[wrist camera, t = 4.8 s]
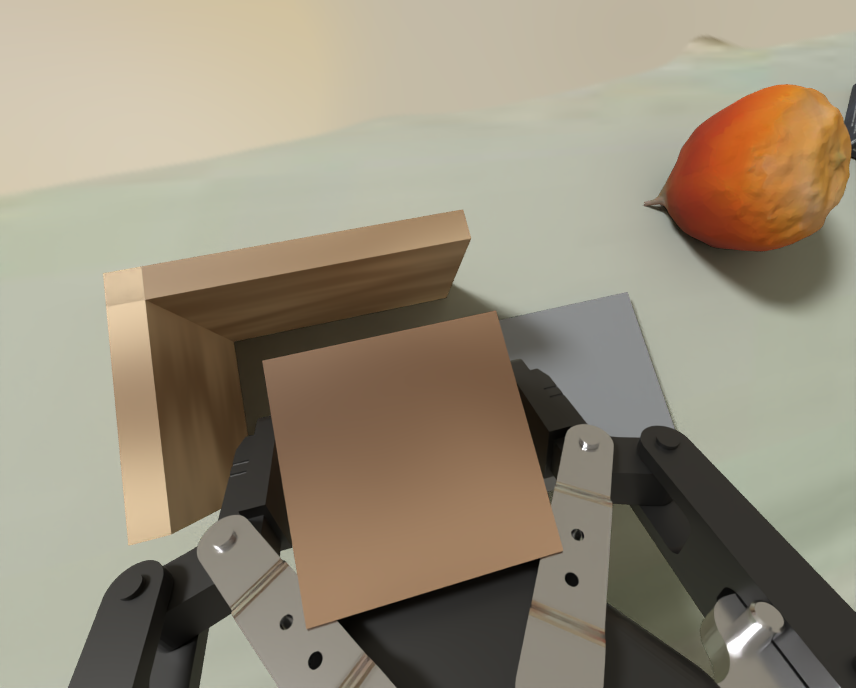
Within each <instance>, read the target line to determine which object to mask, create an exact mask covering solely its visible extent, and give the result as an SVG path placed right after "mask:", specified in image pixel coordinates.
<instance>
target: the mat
mask: <svg viewBox="0 0 856 688" xmlns="http://www.w3.org/2000/svg"><path fill="white" fill-rule="evenodd" d="M499 323H500V326H501V330H502V334H503V337H504V341H505V344H506V348H507V351H508V355H509V359H510V361H511V360H515V359H522V360H523V361H524V363H525V364H526V365H527V367H528V368H529V369H530V370H532V369H539V370H541V371H542V372H544V373H546V374H547V375H549V376H550V377H551V379H552V380H553V381H554V382H555V384H556V385H557V387H558V388H559V389H560V390H561V391H562V393H563V395H565V396H566V398H567V399H568V400H569V401H570V403H571V404H572V405H573V406H574V408H575V409H576V410H577V411H578V413H579V414H580V415H581V416H582V418H583V419H584V420H585V421H586V423H587V424H588V425H593V426H596V427H598V428H600V429H602V430H604V431H605V432H606V433H607V434H608V435H609V436H613V437H640V436H641V433H642V431H643V430H644V429H645V428H647V427H650V426H666V427H670V428H673V429H675V428H674V425H673V422H672V419H671V416H670V413H669V411H668V408H667V405H666V402H665V399H664V396H663V393H662V390H661V388H660V385H659V382H658V379H657V376H656V373H655V370H654V367H653V364H652V362H651V359H650V356H649V353H648V350H647V347H646V344H645V341H644V339H643V336H642V333H641V330H640V327H639V324H638V321H637V318H636V316H635V313H634V310H633V307H632V304H631V301H630V298H629V295H628V293H627V292H626V293H621V294H616V295H612V296H607V297H603V298H598V299H594V300H589V301H584V302H580V303H575V304H571V305H566V306H561V307H557V308H552V309H548V310H543V311H539V312H534V313H529V314H525V315H520V316H516V317H511V318H507V319H502V320H499ZM543 479H544V478H543ZM556 481H557V480H556V479H555V477H554V476H553V477H550V478H546V479H544V483H545V487H546V490H547V492H549V491H552V490H554V488H555V484H556Z"/></svg>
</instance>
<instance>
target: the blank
mask: <svg viewBox="0 0 856 688" xmlns="http://www.w3.org/2000/svg"><path fill="white" fill-rule="evenodd" d="M262 363H263V369H264V375H265V381H266V387H267V393H268V399H269V405H270V411H271V417H272V423H273V430H274V436H275V442H276V448H277V454H278V460H279V466H280V472H281V478H282V484H283V490H284V496H285V503H286V509H287V515H288V521H289V527H290V533H291V539H292V545H293V551H294V557H295V563H296V570H297V576H298V582H299V588H300V594H301V600H302V606H303V612H304V618H305V624H306V629H309V628H312V627H315V626H319V625H322V624H325V623H328V622H332V621H335V620H338V619H341V618H345V617H348V616H351V615H355V614H358V613H361V612H364V611H368V610H371V609H374V608H377V607H381V606H384V605H387V604H390V603H394V602H397V601H400V600H404V599H407V598H410V597H413V596H417V595H420V594H423V593H426V592H430V591H433V590H436V589H439V588H443V587H446V586H449V585H453V584H456V583H459V582H462V581H466V580H469V579H472V578H475V577H479V576H482V575H485V574H489V573H492V572H495V571H498V570H502V569H505V568H508V567H511V566H515V565H518V564H521V563H524V562H528V561H531V560H534V559H538V558H541V557H544V556H547V555H551V554H554V553H557V552H560V551H563V547H562V544H561V540H560V536H559V533H558V529H557V526H556V522H555V519H554V515H553V512H552V508H551V504H550V501H549V497H548V494H547V490H546V487H545V483H544V479H543V476H542V472H541V469H540V465H539V462H538V458H537V455H536V451H535V447H534V444H533V440H532V437H531V433H530V430H529V426H528V423H527V419H526V415H525V412H524V408H523V405H522V401H521V398H520V394H519V391H518V387H517V383H516V380H515V376H514V373H513V369H512V366H511V362H510V359H509V355H508V351H507V348H506V344H505V341H504V337H503V334H502V330H501V326H500V323H499V319H498V316H497V312H496V311H491V312H487V313H482V314H477V315H473V316H468V317H463V318H459V319H454V320H449V321H445V322H440V323H435V324H431V325H426V326H421V327H417V328H412V329H408V330H403V331H398V332H394V333H389V334H384V335H380V336H375V337H370V338H366V339H361V340H356V341H352V342H347V343H342V344H338V345H333V346H328V347H324V348H319V349H315V350H310V351H305V352H301V353H296V354H291V355H287V356H282V357H277V358H273V359H268V360H263V361H262Z"/></svg>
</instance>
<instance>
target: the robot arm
mask: <svg viewBox="0 0 856 688" xmlns="http://www.w3.org/2000/svg"><path fill="white" fill-rule="evenodd" d="M510 362H511V366H512V369H513V373H514V376H515V380H516V383H517V387H518V391H519V394H520V398H521V401H522V405H523V408H524V412H525V415H526V419H527V423H528V426H529V430H530V433H531V437H532V440H533V444H534V447H535V451H536V455H537V458H538V462H539V465H540V469H541V472H542V476H543V478H544V479H546V478H550V477H553V476H554V477H555V479H556V480H557V481H556V484H555V488H554V493H553V498H552V503H551V508H552V512H553V515H554V519H555V522H556V526H557V529H558V533H559V536H560V540H561V544H562V547H563V551H560V552H557V553H554V554H551V555H547V556H544V557H541V558H538V559H534V560H531V561H528V562H524V563H521V564H518V565H515V566H511V567H508V568H505V569H502V570H498V571H495V572H492V573H489V574H485V575H482V576H479V577H475V578H472V579H469V580H466V581H462V582H459V583H456V584H453V585H449V586H446V587H443V588H439V589H436V590H433V591H430V592H426V593H423V594H420V595H417V596H413V597H410V598H407V599H404V600H400V601H397V602H394V603H390V604H387V605H384V606H381V607H377V608H374V609H371V610H368V611H364V612H361V613H358V614H355V615H351V616H348V617H345V618H341V619H338V620H335V621H332V622H328V623H325V624H322V625H319V626H315V627H312V628H309V629H306V624H305V618H304V612H303V606H302V600H301V594H300V588H299V582H298V576H297V574H296V573H295V572H294V570H293V569H292V568H291V567H290V566H289V565H288V564H287V563H286V562H285V561H283V560H282V559H281V558H280V551H282V550H285V549H289V548H292V539H291V533H290V527H289V521H288V515H287V509H286V503H285V496H284V490H283V484H282V478H281V472H280V466H279V460H278V454H277V448H276V442H275V436H274V430H273V423H272V417H271V416H267V417H263V418H259V419H258V420H257V424H256V429H255V433H254V435H252V436H247V437H245V438H244V439H243V441H242V442H241V444H240V445H239V446H238V448H237V449H236V452H235V456H234V459H233V463H232V464H233V466H232V467H231V471H230V477H229V479H228V483H227V487H226V491H225V495H224V499H223V503H222V507H221V511H220V515H219V519H218V521H217V522H216V523H214V524H213V525H212V526H211V527H210V528H209V529H208V530H207V531H206V532H205V533H204V535H203V536H202V538H201V539H200V541H199V544H198V546H197V547H196V548H194V549H192V550H191V551H189V552H187V553H186V554H184V555H182V556H180V557H178V558H177V559H175V560H173V561H171V562H169V563H168V564H166V565H164V566H162V565H161V564H160V563H159V562H157V561H154V560H147V561H143V562H140V563H137V564H135V565H133V566H131V567H130V568H128V569H127V570H126V571H124V572H123V573H122V574H121V575H119V576H118V577H117V578H116V579H115V581H114V582H113V583H112V584H111V585H110V587H109V588H108V589H107V591H106V593H105V595H104V597H103V599H102V602H101V604H100V607H99V609H98V612H97V614H96V617H95V620H94V622H93V625H92V627H91V630H90V632H89V635H88V638H87V640H86V643H85V645H84V648H83V650H82V653H81V656H80V658H79V661H78V663H77V666H76V668H75V671H74V674H73V676H72V679H71V681H70V684H69V686H68V688H199V685H200V679H201V673H202V667H203V661H204V655H205V649H206V643H207V637H208V631H209V627H211V626H213V625H214V624H216V623H217V622H219V621H220V620H222V619H223V618H225V617H227V616H228V615H230V614H232V616H233V618H234V619H235V621H236V623H237V624H238V626H239V627H240V629H241V630H242V632H243V633H244V635H245V636H246V638H247V640H248V641H249V643H250V644H251V646H252V647H253V649H254V650H255V652H256V653H257V655H258V656H259V658H260V660H261V661H262V663H263V664H264V666H265V667H266V669H267V670H268V672H269V673H270V675H271V677H272V678H273V680H274V681H275V683H276V684H277V686H278V687H279V688H856V612H855V611H854V610H853V609H852V608H851V607H850V606H849V605H848V604H847V603H846V602H845V601H844V600H843V599H842V598H841V597H840V596H839V595H838V594H837V593H836V592H835V590H834V589H833V588H832V587H831V586H830V585H829V584H828V583H827V582H826V581H825V580H824V579H823V578H822V577H821V576H820V575H819V574H818V573H817V572H816V571H815V570H814V569H813V568H812V567H811V566H810V565H809V563H808V562H807V561H806V560H805V559H804V558H803V557H802V556H801V555H800V554H799V553H798V552H797V551H796V550H795V549H794V548H793V547H792V546H791V545H790V544H789V543H788V542H787V541H786V540H785V539H784V538H783V536H782V535H781V534H780V533H779V532H778V531H777V530H776V529H775V528H774V527H773V526H772V525H771V524H770V523H769V522H768V521H767V520H766V519H765V518H764V517H763V516H762V515H761V514H760V513H759V512H758V511H757V509H756V508H755V507H754V506H753V505H752V504H751V503H750V502H749V501H748V500H747V499H746V498H745V497H744V496H743V495H742V494H741V493H740V492H739V491H738V490H737V489H736V488H735V487H734V486H733V485H732V484H731V482H730V481H729V480H728V479H727V478H726V477H725V476H724V475H723V474H722V473H721V472H720V471H719V470H718V469H717V468H716V467H715V466H714V465H713V464H712V463H711V462H710V461H709V460H708V459H707V458H706V457H705V456H704V454H703V453H702V452H701V451H700V450H699V449H698V448H697V447H696V446H695V445H694V444H693V443H692V442H691V441H690V440H689V439H688V438H687V437H686V436H685V435H683V434H682V433H681V432H679V431H677V430H675V429H673V428H670V427H666V426H650V427H647V428H645V429H644V430H643V431H642V433H641V436H640V437H613V436H609V435H608V434H607V433H606V432H605V431H604V430H602V429H600V428H598V427H596V426H593V425H588V424H587V423H586V421H585V420H584V419H583V418H582V416H581V415H580V414H579V413H578V411H577V410H576V409H575V408H574V406H573V405H572V404H571V403H570V401H569V400H568V399H567V398H566V396H565V395H563V393H562V391H561V390H560V389H559V388H558V387H557V385H556V384H555V382H554V381H553V380H552V379H551V377H550V376H549V375H547V374H546V373H544V372H542V371H541V370H539V369H532V370H530V369H529V368H528V367H527V365H526V364H525V363H524V361H523V360H522V359H515V360H511V361H510ZM612 504H629V505H630V506H631V508H632V509H633V511H634V512H635V514H636V515H637V517H638V518H639V520H640V521H641V523H642V524H643V526H644V527H645V529H646V530H647V532H648V533H649V535H650V536H651V538H652V539H653V541H654V542H655V544H656V545H657V547H658V548H659V550H660V551H661V553H662V554H663V556H664V557H665V559H666V560H667V562H668V563H669V565H670V566H671V568H672V569H673V571H674V572H675V574H676V575H677V577H678V578H679V580H680V581H681V583H682V584H683V586H684V587H685V589H686V590H687V592H688V593H689V595H690V596H691V598H692V599H693V601H694V602H695V604H696V605H697V607H698V608H699V610H700V611H701V613H702V614H703V616H704V617H705V618H704V620H703V621H702V623H701V626H700V636H701V641H702V644H703V646H704V649H705V651H706V653H707V655H708V657H709V659H710V661H711V664H712V668H713V672H714V680H713V679H712V678H711V677H710V676H709V675H708V674H707V673H705V672H704V671H703V670H702V669H701V668H700V667H698V666H697V665H695V664H694V663H693V662H691V661H690V660H688V659H687V658H685V657H684V656H683V655H681V654H680V653H678V652H677V651H675V650H674V649H673V648H671V647H670V646H668V645H667V644H665V643H664V642H663V641H661V640H660V639H658V638H657V637H655V636H654V635H653V634H651V633H650V632H648V631H647V630H645V629H644V628H642V627H641V626H640V625H638V624H637V623H635V622H634V621H632V620H631V619H630V618H628V617H627V616H625V615H624V614H622V613H621V612H620V611H618V610H617V609H615V608H614V607H612V606H611V605H609V604H608V603H607V602H606V601H607V586H608V570H609V554H610V539H611V523H612Z"/></svg>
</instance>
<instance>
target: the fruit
mask: <svg viewBox="0 0 856 688" xmlns="http://www.w3.org/2000/svg"><path fill="white" fill-rule="evenodd" d="M850 159H851V140H850V135H849V132H848V130H847V128H846V126H845V124H844V120H843V117H842V115H841V113H840V111H839V109H838V108H836V107H834V106H832V105H831V104H830V102H829V101H828V99H827V98H826V96H825V95H824V94H822V93H820V92H819V91H817V90H815V89H812V88H805V87H801V86H796V85H788V84H786V85H776V86H771V87H768V88H764V89H762V90H759V91H757V92H754V93H752V94H750V95H747V96H745V97H743V98H741V99H740V100H738V101H736V102H735V103H733V104H731V105H730V106H728V107H726V108H725V109H723V110H721V111H719V112H718V113H716V114H715V115H713V116H712V117H710V118H709V119H707V120H706V121H705V122H703V123H702V124H701V125H699V126H698V127H697V128H696V129H695V131H694V132H693V133H692V135H691V136H690V137H689V139H688V140H687V142H686V143H685V144H684V146H683V147H682V149H681V151H680V154H679V157H678V160H677V162H676V164H675V166H674V168H673V170H672V172H671V174H670V176H669V178H668V180H667V182H666V184H665V185H664V187H663V189H662V190H661V192H660V194H659V196H658V197H657V198H656V199H655V200H651V201H647V202H644V203H645V204H644V206H648V205H657V204H660V205H663V206H664V207H666V209H667V210H668V213H669V215H670V216H671V217H672V218H673V220H674V221H675V222H676V224H677V225H678V226H679V227H680V228H681V230H682V231H684V232H685V233H686V234H688V235H690V236H691V237H693V238H696V239H698V240H700V241H702V242H704V243H706V244H707V245H709V246H711V247H714V248H722V249H734V250H742V251H768V250H773V249H778V248H781V247H784V246H787V245H790V244H793V243H795V242H797V241H799V240H801V239H803V238H805V237H808V236H810V235H812V234H813V233H815V232H817V231H818V230H819V229H820V228H821V227H822V226H823V224H824V222H825V219H826V216H827V215H828V214H829V212H830V211H831V210H832V209H833V208H834V207H835V206H836V205H838V203H839V202H840V200H841V198H842V196H843V194H844V191H845V188H846V184H847V181H848V178H849V175H850V173H849V163H850Z"/></svg>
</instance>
